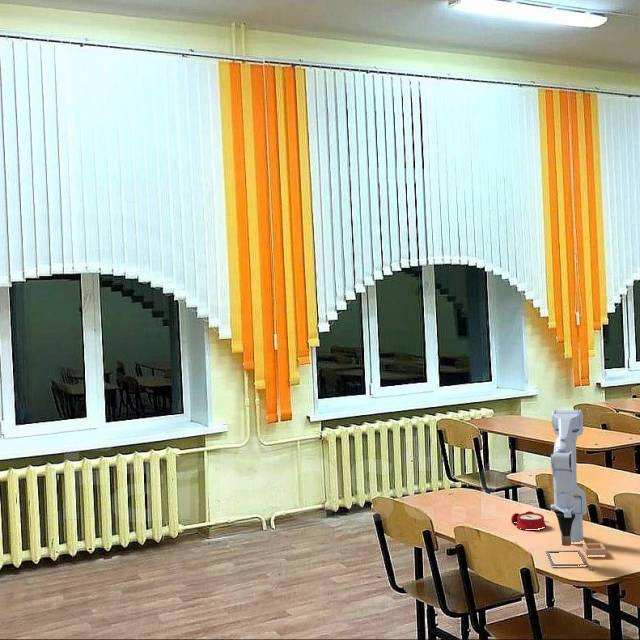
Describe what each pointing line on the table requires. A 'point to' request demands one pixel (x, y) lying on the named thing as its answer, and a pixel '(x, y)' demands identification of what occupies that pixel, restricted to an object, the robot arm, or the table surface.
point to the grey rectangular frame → (565, 564)
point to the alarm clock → (529, 520)
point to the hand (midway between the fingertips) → (565, 534)
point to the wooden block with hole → (594, 549)
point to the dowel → (566, 540)
